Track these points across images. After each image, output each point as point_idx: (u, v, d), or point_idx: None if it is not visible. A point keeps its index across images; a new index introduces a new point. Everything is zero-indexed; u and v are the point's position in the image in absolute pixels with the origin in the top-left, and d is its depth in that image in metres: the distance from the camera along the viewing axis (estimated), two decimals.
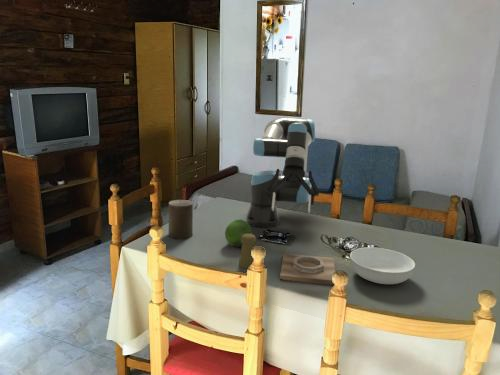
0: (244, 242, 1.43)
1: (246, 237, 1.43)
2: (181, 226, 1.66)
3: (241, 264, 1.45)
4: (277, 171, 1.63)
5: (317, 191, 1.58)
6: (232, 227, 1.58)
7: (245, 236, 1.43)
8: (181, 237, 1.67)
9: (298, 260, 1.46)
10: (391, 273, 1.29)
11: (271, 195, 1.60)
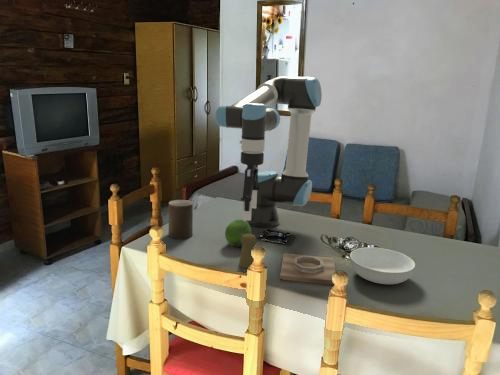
0: (244, 242, 1.43)
1: (246, 237, 1.43)
2: (181, 226, 1.66)
3: (241, 264, 1.45)
4: None
5: None
6: (232, 227, 1.58)
7: (245, 236, 1.43)
8: (181, 237, 1.67)
9: (298, 260, 1.46)
10: (391, 273, 1.29)
11: None
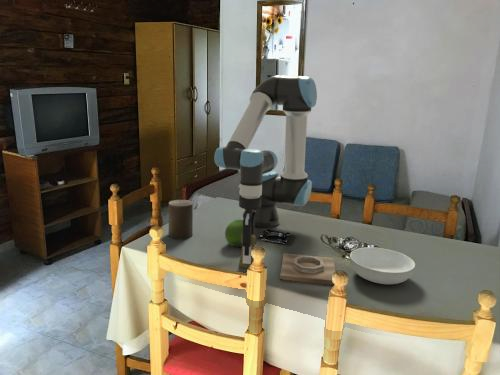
0: None
1: None
2: (181, 226, 1.66)
3: (241, 264, 1.45)
4: None
5: None
6: (232, 227, 1.58)
7: None
8: (181, 237, 1.67)
9: (298, 260, 1.46)
10: (391, 273, 1.29)
11: None
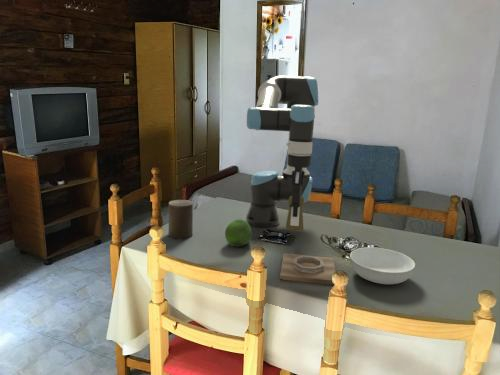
0: None
1: None
2: (181, 226, 1.66)
3: (288, 226, 1.39)
4: None
5: None
6: (232, 227, 1.58)
7: None
8: (181, 237, 1.67)
9: (298, 260, 1.46)
10: (391, 273, 1.29)
11: None
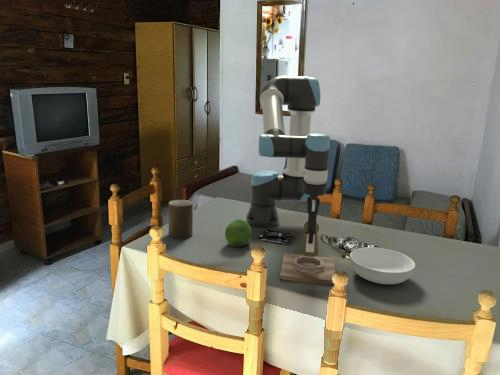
0: None
1: None
2: (181, 226, 1.66)
3: (303, 253, 1.40)
4: (309, 198, 1.44)
5: (307, 231, 1.35)
6: (232, 227, 1.58)
7: None
8: (181, 237, 1.67)
9: (298, 260, 1.46)
10: (391, 273, 1.29)
11: None
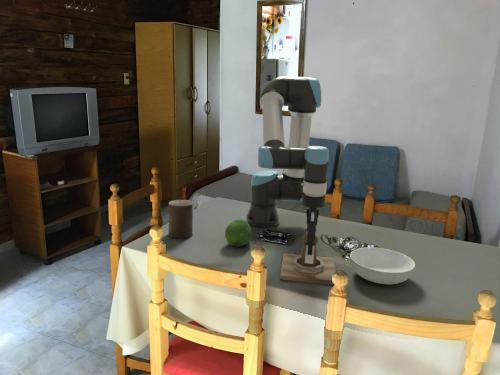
0: None
1: None
2: (181, 226, 1.66)
3: (302, 265, 1.43)
4: None
5: (306, 242, 1.33)
6: (232, 227, 1.58)
7: None
8: (181, 237, 1.67)
9: (298, 260, 1.46)
10: (391, 273, 1.29)
11: None
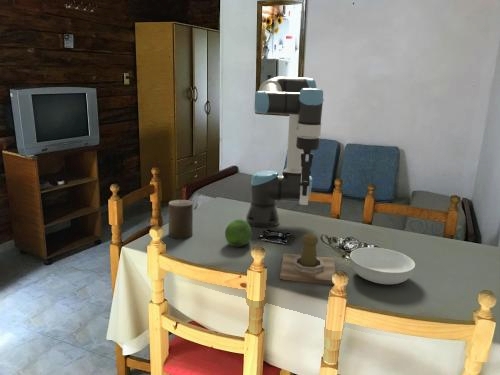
0: (306, 242, 1.40)
1: (308, 237, 1.40)
2: (181, 226, 1.66)
3: (302, 265, 1.43)
4: (303, 150, 1.46)
5: (301, 182, 1.33)
6: (232, 227, 1.58)
7: (307, 236, 1.41)
8: (181, 237, 1.67)
9: (298, 260, 1.46)
10: (391, 273, 1.29)
11: None
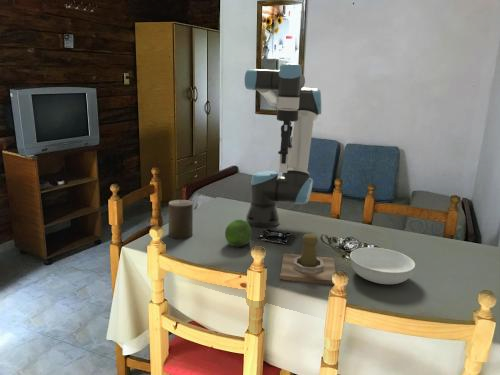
0: (306, 242, 1.40)
1: (308, 237, 1.40)
2: (181, 226, 1.66)
3: (302, 265, 1.43)
4: None
5: (280, 150, 1.42)
6: (232, 227, 1.58)
7: (307, 236, 1.41)
8: (181, 237, 1.67)
9: (298, 260, 1.46)
10: (391, 273, 1.29)
11: None
